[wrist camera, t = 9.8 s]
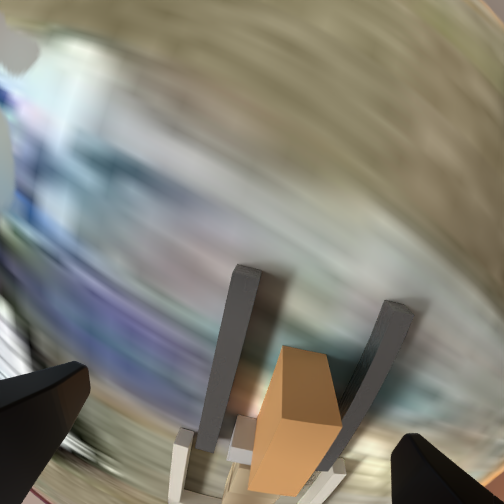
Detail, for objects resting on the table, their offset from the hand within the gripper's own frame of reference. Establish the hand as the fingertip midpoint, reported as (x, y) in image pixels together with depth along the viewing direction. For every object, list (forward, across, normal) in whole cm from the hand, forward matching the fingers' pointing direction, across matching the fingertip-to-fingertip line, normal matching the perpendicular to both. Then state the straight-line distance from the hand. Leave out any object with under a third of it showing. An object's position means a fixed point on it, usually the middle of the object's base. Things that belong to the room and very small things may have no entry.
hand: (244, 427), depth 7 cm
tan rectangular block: (+12, -3, +7) cm, 14 cm away
